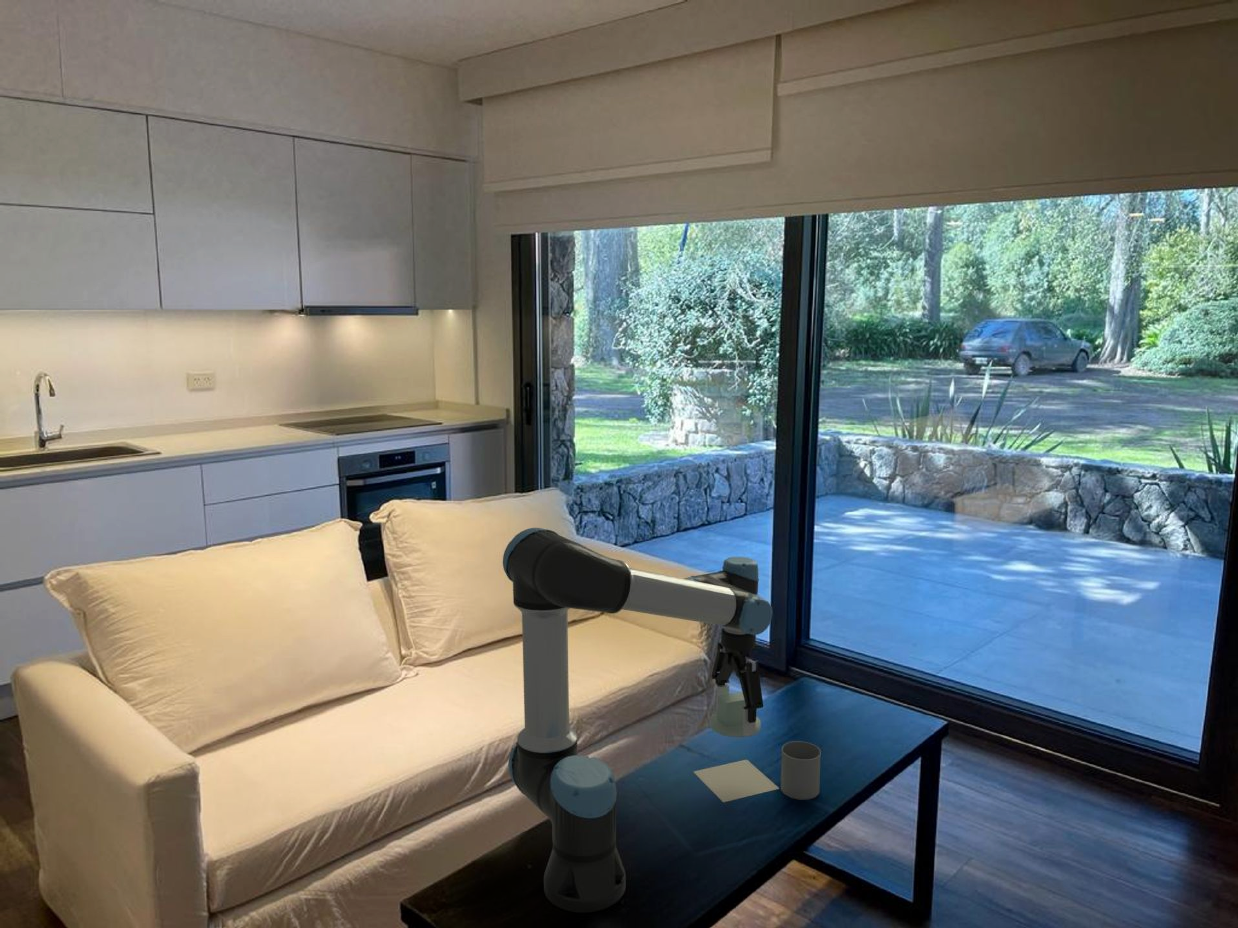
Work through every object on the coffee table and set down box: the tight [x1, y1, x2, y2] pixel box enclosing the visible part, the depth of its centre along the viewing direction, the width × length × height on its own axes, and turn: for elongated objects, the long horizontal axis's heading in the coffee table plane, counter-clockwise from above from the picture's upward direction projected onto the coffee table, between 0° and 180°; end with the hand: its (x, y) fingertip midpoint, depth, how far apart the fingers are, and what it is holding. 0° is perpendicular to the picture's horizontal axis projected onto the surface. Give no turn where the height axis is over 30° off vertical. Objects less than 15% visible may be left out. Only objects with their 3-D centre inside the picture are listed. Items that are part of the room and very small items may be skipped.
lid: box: [709, 691, 762, 738], centre depth 205 cm, size 11×11×7 cm
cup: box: [780, 740, 822, 801], centre depth 203 cm, size 8×8×10 cm
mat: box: [693, 759, 780, 803], centre depth 208 cm, size 14×14×1 cm
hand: (735, 723), depth 205 cm, fingers closed on lid, 11 cm apart
